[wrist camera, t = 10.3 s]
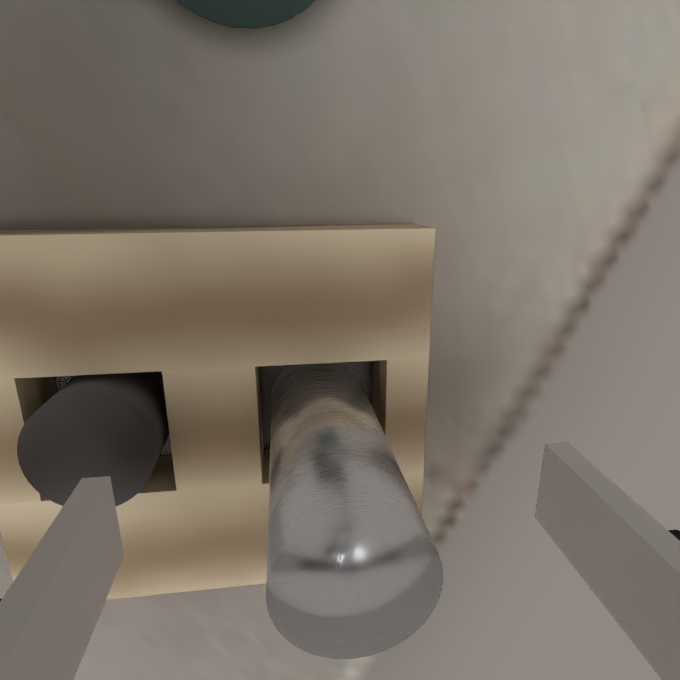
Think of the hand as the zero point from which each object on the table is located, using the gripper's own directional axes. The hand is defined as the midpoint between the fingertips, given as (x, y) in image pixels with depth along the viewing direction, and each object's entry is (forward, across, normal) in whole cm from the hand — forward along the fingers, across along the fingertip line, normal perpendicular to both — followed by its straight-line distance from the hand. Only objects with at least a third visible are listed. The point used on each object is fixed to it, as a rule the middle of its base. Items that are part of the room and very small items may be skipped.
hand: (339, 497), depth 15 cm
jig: (+9, -4, -1) cm, 10 cm away
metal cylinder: (+9, 0, -1) cm, 9 cm away
